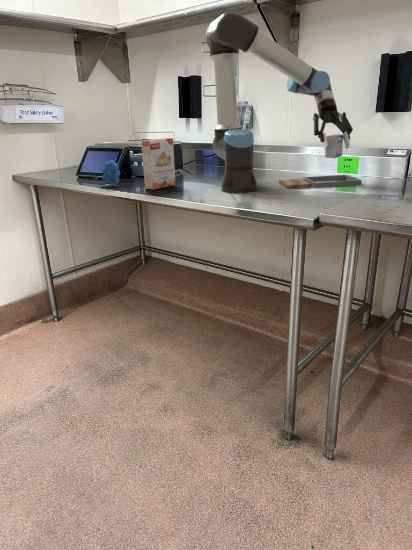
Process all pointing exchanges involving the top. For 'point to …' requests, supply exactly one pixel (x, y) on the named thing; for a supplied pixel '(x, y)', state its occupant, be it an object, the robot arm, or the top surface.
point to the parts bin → (349, 182)
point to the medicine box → (334, 146)
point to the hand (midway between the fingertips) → (337, 147)
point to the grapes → (111, 172)
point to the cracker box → (158, 163)
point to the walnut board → (294, 183)
